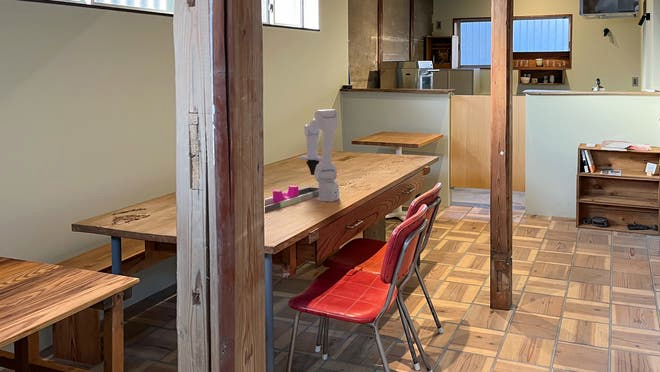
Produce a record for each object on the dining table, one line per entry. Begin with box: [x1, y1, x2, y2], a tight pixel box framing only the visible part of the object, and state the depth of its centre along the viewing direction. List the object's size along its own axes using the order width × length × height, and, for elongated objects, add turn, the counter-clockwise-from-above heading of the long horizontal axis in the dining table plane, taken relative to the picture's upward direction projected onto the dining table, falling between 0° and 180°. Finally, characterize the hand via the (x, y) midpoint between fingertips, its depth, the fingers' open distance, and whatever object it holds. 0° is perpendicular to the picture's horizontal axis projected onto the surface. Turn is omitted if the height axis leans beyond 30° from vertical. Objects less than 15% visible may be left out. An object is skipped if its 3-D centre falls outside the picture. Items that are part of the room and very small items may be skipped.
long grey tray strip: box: [264, 186, 319, 213], centre depth 338 cm, size 12×50×2 cm, turn 146°
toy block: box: [272, 185, 300, 204], centre depth 333 cm, size 15×6×8 cm, turn 146°
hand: (313, 174), depth 356 cm, fingers closed
